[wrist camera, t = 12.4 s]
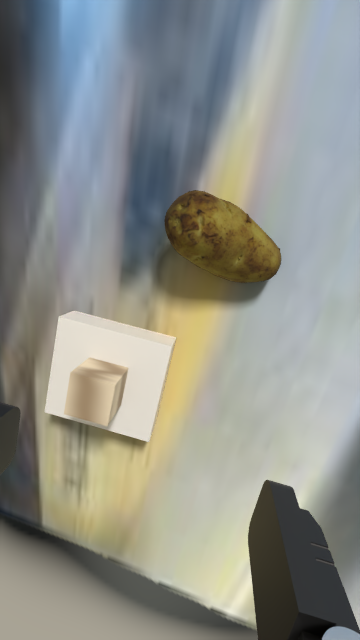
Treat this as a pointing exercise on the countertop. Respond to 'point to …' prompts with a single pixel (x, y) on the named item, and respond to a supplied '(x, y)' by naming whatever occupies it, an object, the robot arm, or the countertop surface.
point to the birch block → (95, 391)
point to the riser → (118, 348)
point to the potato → (221, 238)
